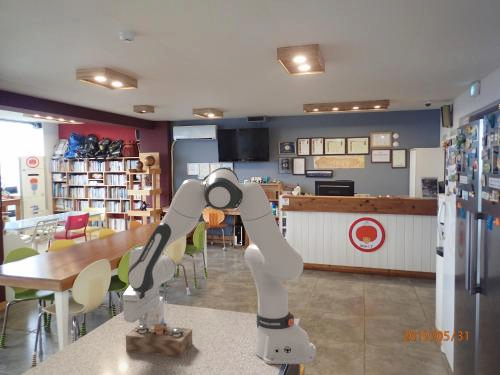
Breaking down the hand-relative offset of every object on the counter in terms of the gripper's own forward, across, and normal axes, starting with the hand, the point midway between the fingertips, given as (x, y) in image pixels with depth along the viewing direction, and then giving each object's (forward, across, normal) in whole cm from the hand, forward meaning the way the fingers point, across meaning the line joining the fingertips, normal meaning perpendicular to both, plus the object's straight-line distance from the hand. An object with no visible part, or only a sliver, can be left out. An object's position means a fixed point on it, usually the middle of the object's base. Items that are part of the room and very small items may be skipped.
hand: (143, 323), depth 138 cm
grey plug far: (+7, +1, 0) cm, 7 cm away
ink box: (+9, -15, -5) cm, 18 cm away
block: (+8, +1, +7) cm, 11 cm away
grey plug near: (+7, +1, +14) cm, 15 cm away
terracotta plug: (+6, +1, +7) cm, 9 cm away
